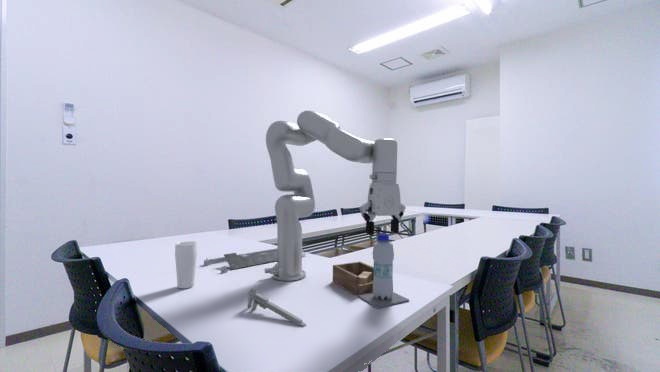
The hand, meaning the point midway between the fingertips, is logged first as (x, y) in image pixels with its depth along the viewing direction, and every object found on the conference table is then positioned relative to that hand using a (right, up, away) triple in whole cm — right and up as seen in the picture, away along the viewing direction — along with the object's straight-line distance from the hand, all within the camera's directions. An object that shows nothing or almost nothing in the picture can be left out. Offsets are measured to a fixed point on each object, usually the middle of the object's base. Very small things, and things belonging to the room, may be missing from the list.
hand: (382, 233), depth 93 cm
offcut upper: (-4, -18, +10) cm, 21 cm away
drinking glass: (-66, -20, +10) cm, 70 cm away
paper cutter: (-50, -21, +46) cm, 71 cm away
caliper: (-31, -21, -13) cm, 40 cm away
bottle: (0, -20, 0) cm, 20 cm away
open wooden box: (-6, -20, +12) cm, 25 cm away
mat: (0, -21, 0) cm, 21 cm away
